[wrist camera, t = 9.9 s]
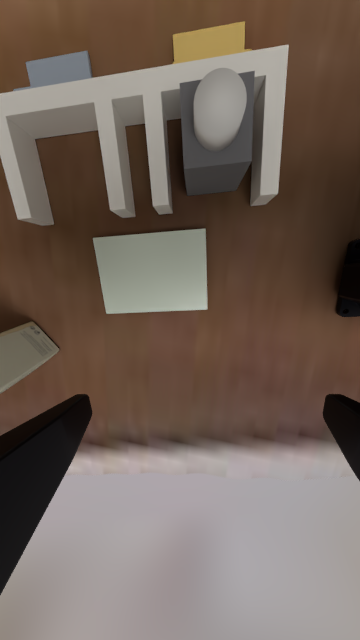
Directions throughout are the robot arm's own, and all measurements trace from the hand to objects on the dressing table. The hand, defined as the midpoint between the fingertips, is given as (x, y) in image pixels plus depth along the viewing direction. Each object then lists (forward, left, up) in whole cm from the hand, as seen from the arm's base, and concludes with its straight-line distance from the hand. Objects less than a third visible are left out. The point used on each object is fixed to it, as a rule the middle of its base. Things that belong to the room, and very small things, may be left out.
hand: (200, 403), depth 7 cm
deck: (+4, -4, -12) cm, 13 cm away
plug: (-1, -13, -12) cm, 18 cm away
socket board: (+4, -14, -12) cm, 19 cm away
